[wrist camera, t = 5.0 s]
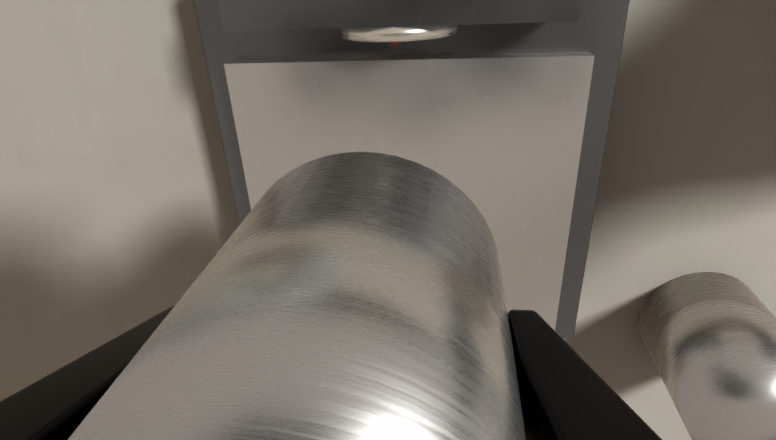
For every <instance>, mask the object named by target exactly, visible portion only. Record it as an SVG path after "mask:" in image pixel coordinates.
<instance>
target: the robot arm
mask: <svg viewBox="0 0 776 440" xmlns="http://www.w3.org/2000/svg"><path fill="white" fill-rule="evenodd" d="M174 306H175V305H174ZM174 306H172V307H170V308H169V309H167V310H165V311H163V312H161V313H160V314H158V315H156V316H154V317H152V318H151V319H149V320H147V321H145V322H143V323H142V324H140V325H138V326H136V327H134V328H132V329H131V330H129V331H127V332H125V333H123V334H122V335H120V336H118V337H116V338H114V339H113V340H111V341H109V342H107V343H105V344H104V345H102V346H100V347H98V348H96V349H95V350H93V351H91V352H89V353H87V354H85V355H84V356H82V357H80V358H78V359H76V360H75V361H73V362H71V363H69V364H67V365H66V366H64V367H62V368H60V369H58V370H57V371H55V372H53V373H51V374H49V375H48V376H46V377H44V378H42V379H40V380H38V381H37V382H35V383H33V384H31V385H29V386H28V387H26V388H24V389H22V390H20V391H19V392H17V393H15V394H13V395H11V396H10V397H8V398H6V399H4V400H2V401H1V402H0V440H68V439H69V437H70V436H71V435H72V434H73V432H74V431H75V430H76V429H77V427H78V426H79V425H80V424H81V422H82V421H83V420H84V419H85V417H86V416H87V415H88V414H89V412H90V411H91V410H92V409H93V407H94V406H95V405H96V404H97V402H98V401H99V400H100V399H101V397H102V396H103V395H104V394H105V392H106V391H107V390H108V389H109V387H110V386H111V385H112V384H113V382H114V381H115V380H116V379H117V377H118V376H119V375H120V374H121V372H122V371H123V370H124V369H125V367H126V366H127V365H128V364H129V362H130V361H131V360H132V359H133V357H134V356H135V355H136V354H137V352H138V351H139V350H140V349H141V347H142V346H143V345H144V344H145V342H146V341H147V340H148V339H149V337H150V336H151V335H152V334H153V332H154V331H155V330H156V329H157V327H158V326H159V325H160V324H161V322H162V321H163V320H164V319H165V317H166V316H167V315H168V314H169V312H170V311H171V310H172V309H173V307H174ZM508 321H509V327H510V333H511V339H512V345H513V351H514V357H515V364H516V370H517V376H518V382H519V388H520V394H521V400H522V407H523V413H524V419H525V425H526V431H527V437H528V440H662V439H661V438H660V437H659V436H658V435H657V434H656V433H655V432H654V431H653V430H652V429H651V428H650V427H649V426H648V425H647V424H646V423H645V422H644V421H643V420H642V419H641V418H640V417H639V416H638V415H637V414H636V413H635V412H634V411H633V410H632V409H631V408H630V407H629V406H628V405H627V404H626V403H625V402H624V401H623V400H622V399H621V398H620V397H619V395H618V394H617V393H616V392H615V391H614V390H613V389H612V388H611V387H610V386H609V385H608V384H607V383H606V382H605V381H604V380H603V379H602V378H601V377H600V376H599V375H598V374H597V373H596V372H595V371H594V370H593V369H592V368H591V367H590V366H589V365H588V364H587V363H586V362H585V361H584V360H583V359H582V358H581V357H580V356H579V355H578V354H577V353H576V352H575V351H574V350H573V349H572V348H571V347H570V346H569V345H568V344H567V343H566V342H565V341H564V340H563V339H562V338H561V337H560V336H559V335H558V334H557V333H556V332H555V331H554V329H553V328H552V327H551V326H550V325H549V324H548V323H547V322H546V321H545V320H544V319H543V318H542V317H541V316H540V315H539V314H538V313H537V312H535V311H534V310H518V309H512V310H510V311H509V312H508Z"/></svg>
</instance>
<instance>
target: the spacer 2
mask: <svg viewBox="0 0 776 440" xmlns="http://www.w3.org/2000/svg"><path fill="white" fill-rule="evenodd" d="M638 329H639V333H640V335H641V338H642V340H643V342H644V344H645V346H646V348H647V350H648V352H649V354H650V356H651V358H652V360H653V362H654V364H655V366H656V368H657V370H658V372H659V374H660V376H661V378H662V380H663V382H664V384H665V386H666V388H667V390H668V392H669V394H670V396H671V398H672V400H673V402H674V404H675V406H676V408H677V410H678V412H679V414H680V416H681V418H682V421H683V423H684V425H685V427H686V429H687V431H688V433H689V435H690V437H691V439H692V440H776V317H775V316H774V315H773V314H772V313H771V312H770V311H769V310H768V309H767V307H766V306H765V305H764V304H763V303H762V302H761V301H760V300H759V299H758V297H757V296H756V295H755V294H754V293H753V292H752V291H751V290H750V288H749V287H748V286H746V285H745V284H744V283H743V282H741V281H740V280H738V279H736V278H734V277H732V276H729V275H726V274H722V273H715V272H699V273H692V274H688V275H684V276H681V277H678V278H675V279H673V280H671V281H669V282H667V283H665V284H663V285H662V286H660V287H659V288H657V289H656V290H655V291H654V292H653V293H652V294H651V295H650V296H649V297H648V298H647V299H646V301H645V302H644V304H643V305H642V307H641V309H640V312H639V316H638Z"/></svg>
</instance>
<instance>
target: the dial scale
mask: <svg viewBox="0 0 776 440" xmlns="http://www.w3.org/2000/svg"><path fill="white" fill-rule="evenodd" d="M629 1H630V0H194V2H195V7H196V12H197V17H198V22H199V27H200V32H201V37H202V42H203V47H204V52H205V57H206V62H207V67H208V72H209V77H210V82H211V86H212V91H213V96H214V101H215V106H216V111H217V116H218V121H219V126H220V131H221V136H222V141H223V146H224V151H225V156H226V161H227V166H228V171H229V176H230V180H231V185H232V190H233V195H234V200H235V205H236V210H237V215H238V220H239V225H240V224H241V223H242V221H243V220H244V219H245V218H246V216H247V215H248V214H249V213H250V211H251V210H252V209H253V208H254V206H255V205H256V204H257V203H258V201H259V200H260V199H261V198H262V196H263V195H264V194H265V193H266V191H267V190H268V189H269V188H270V187H271V186H272V185H273V184H274V183H275V182H276V181H277V180H278V179H280V178H281V177H283V176H284V175H285V174H287V173H288V172H290V171H291V170H293V169H295V168H297V167H299V166H301V165H303V164H304V163H306V162H309V161H312V160H315V159H318V158H321V157H324V156H329V155H334V154H338V153H348V152H374V153H382V154H388V155H393V156H398V157H401V158H404V159H408V160H411V161H414V162H417V163H419V164H421V165H423V166H425V167H428V168H430V169H432V170H434V171H435V172H437V173H438V174H440V175H442V176H443V177H445V178H447V179H448V180H449V181H451V182H452V183H453V184H454V185H456V186H457V187H458V188H459V189H460V190H462V191H463V192H464V193H465V194H466V196H467V197H468V198H469V199H470V200H471V201H472V202H473V203H474V204H475V206H476V207H477V208H478V210H479V211H480V213H481V214H482V215H483V217H484V219H485V221H486V222H487V224H488V226H489V228H490V230H491V232H492V235H493V238H494V241H495V244H496V248H497V253H498V259H499V265H500V271H501V278H502V284H503V290H504V296H505V302H506V308H507V314H508V312H509V311H510V310H512V309H518V310H534V311H535V312H537V313H538V314H539V315H540V316H541V317H542V318H543V319H544V320H545V321H546V322H547V323H548V324H549V325H550V326H551V327H552V328H553V329H554V331H555V332H556V333H557V334H558V335H559V336H560V337H561V338H573V336H574V330H575V324H576V318H577V312H578V306H579V300H580V294H581V288H582V282H583V276H584V270H585V264H586V258H587V252H588V246H589V240H590V234H591V228H592V222H593V216H594V210H595V204H596V198H597V192H598V186H599V180H600V174H601V168H602V162H603V156H604V150H605V144H606V138H607V132H608V126H609V121H610V115H611V109H612V103H613V97H614V91H615V85H616V79H617V73H618V67H619V61H620V55H621V49H622V43H623V37H624V31H625V25H626V19H627V13H628V7H629Z"/></svg>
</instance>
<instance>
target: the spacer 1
mask: <svg viewBox="0 0 776 440" xmlns="http://www.w3.org/2000/svg"><path fill="white" fill-rule="evenodd" d="M68 440H528V437H527V431H526V425H525V419H524V413H523V407H522V400H521V394H520V388H519V382H518V376H517V370H516V364H515V357H514V351H513V345H512V339H511V333H510V327H509V321H508V314H507V308H506V302H505V296H504V290H503V284H502V278H501V271H500V265H499V259H498V253H497V248H496V244H495V241H494V238H493V235H492V232H491V230H490V228H489V226H488V224H487V222H486V221H485V219H484V217H483V215H482V214H481V213H480V211H479V210H478V208H477V207H476V206H475V204H474V203H473V202H472V201H471V200H470V199H469V198H468V197H467V196H466V194H465V193H464V192H463V191H462V190H460V189H459V188H458V187H457V186H456V185H454V184H453V183H452V182H451V181H449V180H448V179H447V178H445V177H443V176H442V175H440V174H438V173H437V172H435V171H434V170H432V169H430V168H428V167H425V166H423V165H421V164H419V163H417V162H414V161H411V160H408V159H404V158H401V157H398V156H393V155H388V154H382V153H374V152H348V153H338V154H334V155H329V156H324V157H321V158H318V159H315V160H312V161H309V162H306V163H304V164H303V165H301V166H299V167H297V168H295V169H293V170H291V171H290V172H288V173H287V174H285V175H284V176H283V177H281V178H280V179H278V180H277V181H276V182H275V183H274V184H273V185H272V186H271V187H270V188H269V189H268V190H267V191H266V193H265V194H264V195H263V196H262V198H261V199H260V200H259V201H258V203H257V204H256V205H255V206H254V208H253V209H252V210H251V211H250V213H249V214H248V215H247V216H246V218H245V219H244V220H243V221H242V223H241V224H240V225H239V226H238V228H237V229H236V230H235V231H234V233H233V234H232V235H231V236H230V238H229V239H228V240H227V241H226V243H225V244H224V245H223V246H222V248H221V249H220V250H219V251H218V253H217V254H216V255H215V256H214V257H213V259H212V260H211V261H210V262H209V264H208V265H207V266H206V267H205V269H204V270H203V271H202V272H201V274H200V275H199V276H198V277H197V279H196V280H195V281H194V282H193V284H192V285H191V286H190V287H189V289H188V290H187V291H186V292H185V294H184V295H183V296H182V297H181V299H180V300H179V301H178V302H177V304H176V305H175V306H174V307H173V309H172V310H171V311H170V312H169V314H168V315H167V316H166V317H165V319H164V320H163V321H162V322H161V324H160V325H159V326H158V327H157V329H156V330H155V331H154V332H153V334H152V335H151V336H150V337H149V339H148V340H147V341H146V342H145V344H144V345H143V346H142V347H141V349H140V350H139V351H138V352H137V354H136V355H135V356H134V357H133V359H132V360H131V361H130V362H129V364H128V365H127V366H126V367H125V369H124V370H123V371H122V372H121V374H120V375H119V376H118V377H117V379H116V380H115V381H114V382H113V384H112V385H111V386H110V387H109V389H108V390H107V391H106V392H105V394H104V395H103V396H102V397H101V399H100V400H99V401H98V402H97V404H96V405H95V406H94V407H93V409H92V410H91V411H90V412H89V414H88V415H87V416H86V417H85V419H84V420H83V421H82V422H81V424H80V425H79V426H78V427H77V429H76V430H75V431H74V432H73V434H72V435H71V436H70V437H69V439H68Z"/></svg>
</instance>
